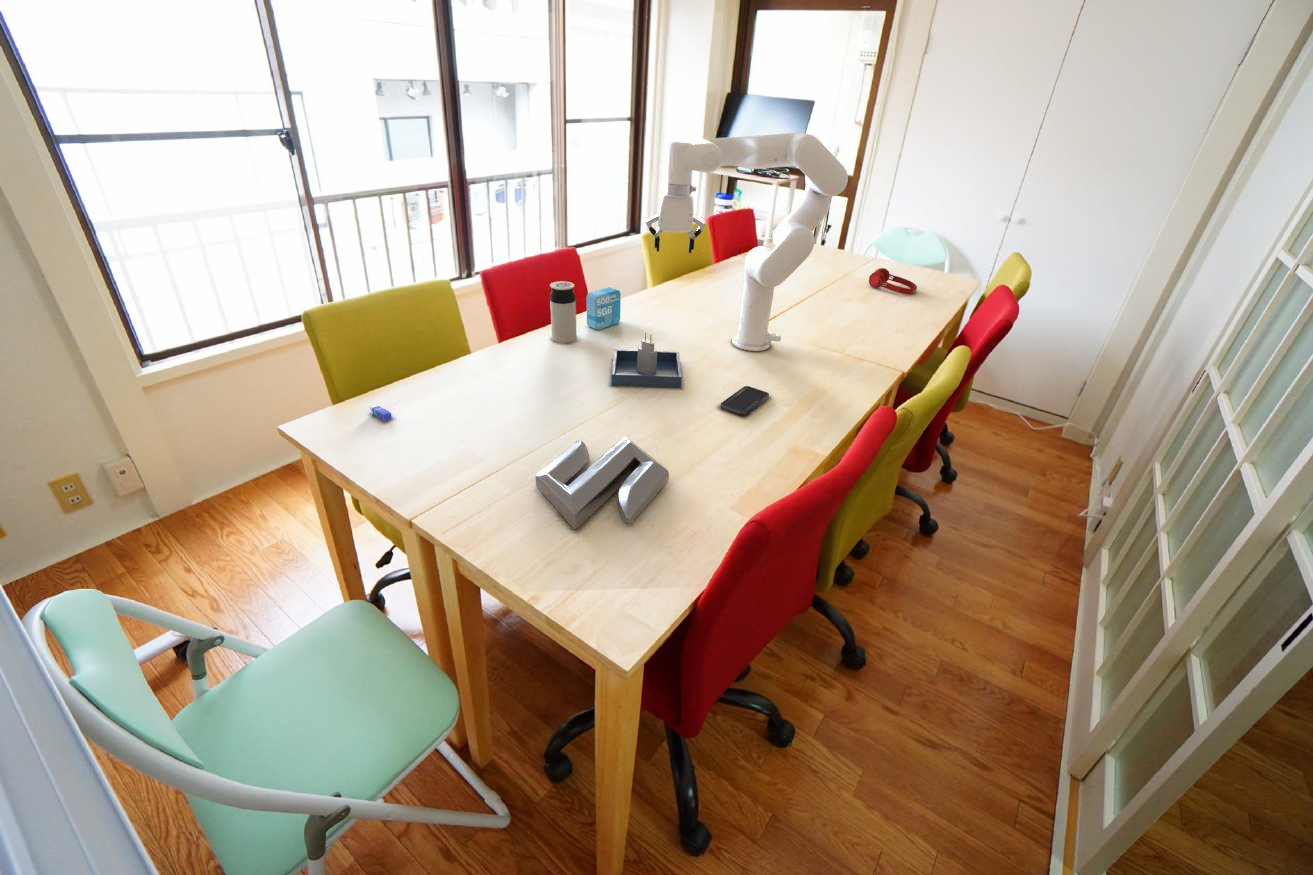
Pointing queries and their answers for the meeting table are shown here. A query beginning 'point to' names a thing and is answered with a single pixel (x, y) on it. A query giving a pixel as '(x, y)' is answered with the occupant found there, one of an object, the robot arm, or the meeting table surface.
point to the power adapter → (647, 357)
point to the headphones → (883, 276)
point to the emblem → (601, 481)
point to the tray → (630, 377)
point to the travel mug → (563, 312)
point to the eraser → (380, 412)
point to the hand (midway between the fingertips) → (673, 251)
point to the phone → (744, 401)
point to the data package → (603, 308)
